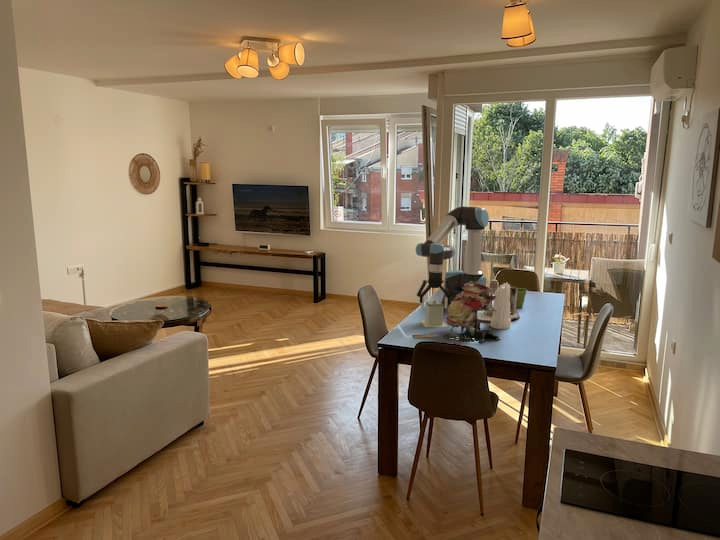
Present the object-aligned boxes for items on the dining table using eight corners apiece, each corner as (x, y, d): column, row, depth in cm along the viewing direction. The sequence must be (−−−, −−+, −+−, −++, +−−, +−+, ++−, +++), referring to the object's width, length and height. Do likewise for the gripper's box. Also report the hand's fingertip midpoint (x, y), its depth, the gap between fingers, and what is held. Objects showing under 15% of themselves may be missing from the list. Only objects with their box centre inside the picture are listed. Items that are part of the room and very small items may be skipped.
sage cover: (425, 321, 301) (426, 299, 299) (438, 321, 302) (439, 299, 300) (428, 325, 294) (429, 302, 291) (442, 325, 295) (443, 302, 292)
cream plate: (419, 322, 304) (420, 316, 303) (441, 321, 305) (442, 316, 305) (425, 328, 291) (425, 322, 290) (448, 328, 293) (448, 322, 292)
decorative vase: (496, 329, 291) (499, 285, 286) (487, 324, 301) (489, 281, 296) (514, 328, 293) (516, 284, 289) (504, 323, 304) (506, 280, 299)
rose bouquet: (460, 326, 296) (462, 274, 291) (504, 338, 275) (508, 282, 270) (430, 335, 280) (431, 280, 274) (475, 349, 258) (478, 289, 253)
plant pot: (524, 304, 347) (525, 288, 345) (527, 309, 335) (529, 292, 333) (505, 304, 348) (506, 287, 346) (508, 308, 336) (510, 291, 334)
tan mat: (408, 329, 289) (408, 328, 289) (427, 329, 291) (427, 328, 291) (414, 338, 274) (414, 337, 274) (435, 337, 275) (435, 336, 275)
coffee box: (499, 312, 328) (500, 286, 325) (501, 309, 333) (503, 285, 330) (514, 314, 324) (515, 288, 321) (516, 311, 329) (518, 286, 326)
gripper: (415, 272, 287) (413, 310, 291) (459, 272, 291) (457, 309, 294) (412, 270, 295) (410, 307, 298) (455, 270, 298) (453, 306, 301)
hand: (434, 308), depth 296 cm, fingers open, 13 cm apart
